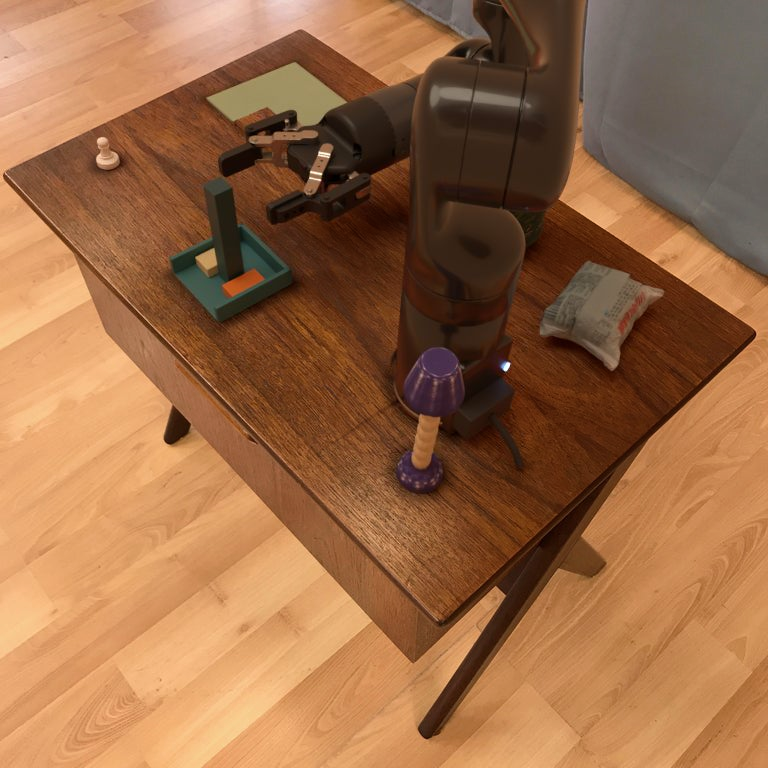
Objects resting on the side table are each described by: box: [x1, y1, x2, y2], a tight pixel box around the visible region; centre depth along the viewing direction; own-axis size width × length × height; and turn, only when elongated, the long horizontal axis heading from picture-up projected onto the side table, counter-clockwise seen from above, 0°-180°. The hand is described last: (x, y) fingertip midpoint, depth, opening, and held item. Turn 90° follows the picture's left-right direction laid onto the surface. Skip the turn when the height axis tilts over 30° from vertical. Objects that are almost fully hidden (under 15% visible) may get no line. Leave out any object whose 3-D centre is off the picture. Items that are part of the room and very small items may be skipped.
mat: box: [206, 61, 347, 126], centre depth 102 cm, size 14×14×1 cm
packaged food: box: [538, 260, 665, 372], centre depth 80 cm, size 9×12×5 cm
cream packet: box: [195, 248, 219, 277], centre depth 84 cm, size 2×4×1 cm, turn 130°
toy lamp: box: [395, 347, 465, 494], centre depth 64 cm, size 5×5×17 cm
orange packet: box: [222, 269, 265, 299], centre depth 82 cm, size 2×4×1 cm, turn 130°
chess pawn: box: [95, 136, 121, 171], centre depth 93 cm, size 3×3×4 cm
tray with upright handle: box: [168, 176, 293, 324], centre depth 79 cm, size 9×9×13 cm
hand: (244, 191), depth 76 cm, fingers open, 8 cm apart
